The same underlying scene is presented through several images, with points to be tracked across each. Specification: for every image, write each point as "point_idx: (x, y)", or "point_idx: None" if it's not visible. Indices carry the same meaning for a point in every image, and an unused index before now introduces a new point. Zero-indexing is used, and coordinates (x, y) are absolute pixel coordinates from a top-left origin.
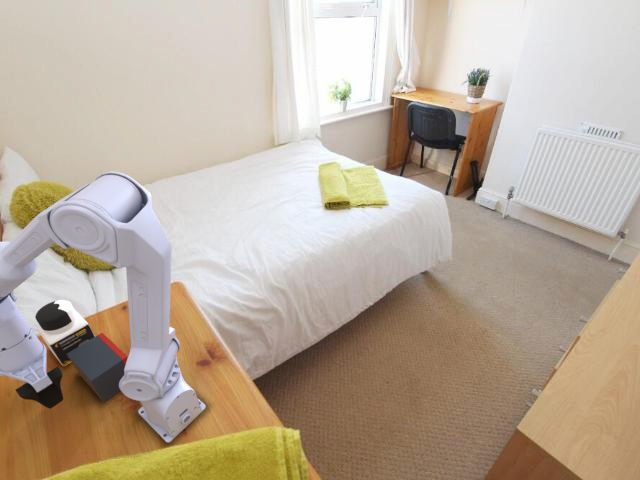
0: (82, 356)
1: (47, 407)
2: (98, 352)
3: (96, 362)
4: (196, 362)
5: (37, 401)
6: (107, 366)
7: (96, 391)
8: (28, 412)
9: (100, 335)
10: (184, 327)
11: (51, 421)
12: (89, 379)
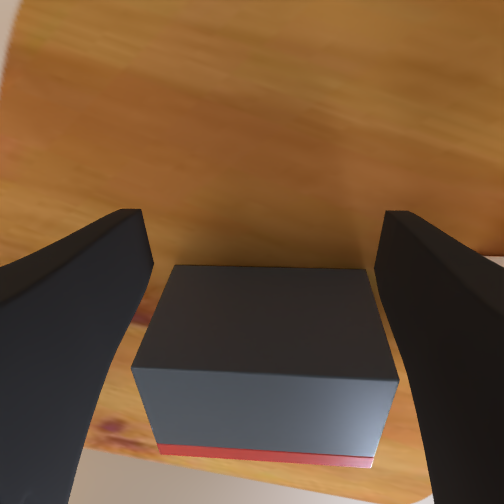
0: (308, 400)
1: (110, 215)
2: (270, 429)
3: (221, 408)
4: (125, 421)
5: (10, 264)
6: (162, 416)
7: (170, 303)
8: (383, 72)
9: (359, 461)
10: None
11: (243, 124)
12: (145, 367)
